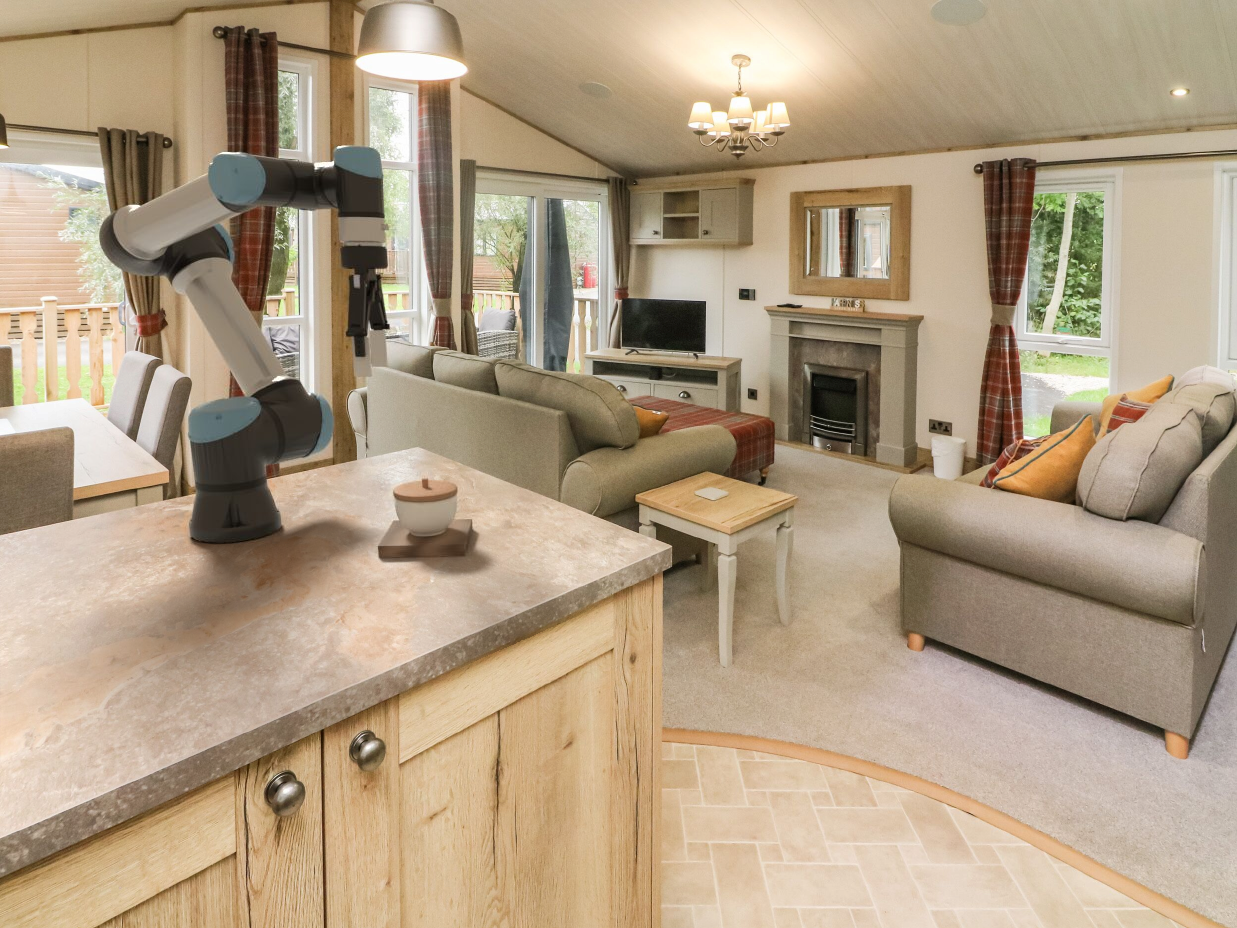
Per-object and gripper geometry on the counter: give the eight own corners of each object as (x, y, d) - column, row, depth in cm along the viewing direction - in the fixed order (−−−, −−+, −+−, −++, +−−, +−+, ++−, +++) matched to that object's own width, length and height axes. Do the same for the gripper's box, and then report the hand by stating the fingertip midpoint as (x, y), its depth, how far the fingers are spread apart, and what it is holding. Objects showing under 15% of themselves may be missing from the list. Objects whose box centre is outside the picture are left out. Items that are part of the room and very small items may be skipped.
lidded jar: (445, 543, 138) (442, 488, 136) (384, 538, 140) (381, 484, 138) (468, 523, 148) (466, 472, 146) (411, 520, 150) (408, 469, 148)
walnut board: (378, 557, 137) (377, 546, 136) (394, 530, 150) (393, 520, 150) (464, 555, 138) (464, 544, 137) (472, 529, 151) (472, 518, 151)
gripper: (370, 243, 128) (379, 381, 133) (399, 246, 152) (406, 362, 157) (320, 243, 127) (331, 381, 132) (357, 246, 151) (365, 363, 156)
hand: (371, 371), depth 145 cm, fingers open, 13 cm apart
